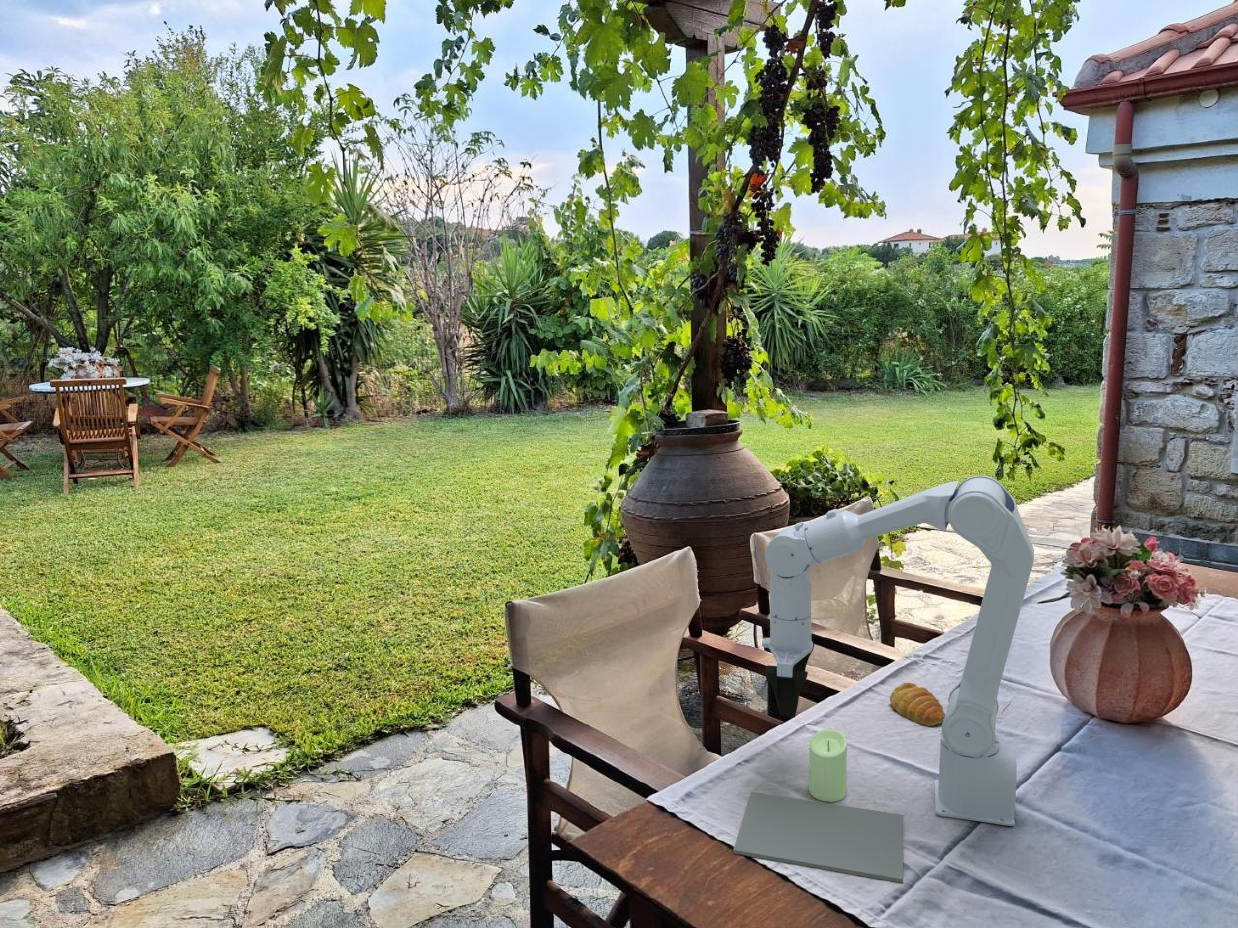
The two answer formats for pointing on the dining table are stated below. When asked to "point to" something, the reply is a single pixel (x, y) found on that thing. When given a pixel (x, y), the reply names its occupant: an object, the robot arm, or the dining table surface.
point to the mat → (823, 836)
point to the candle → (828, 765)
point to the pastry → (917, 704)
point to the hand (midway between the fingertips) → (790, 702)
